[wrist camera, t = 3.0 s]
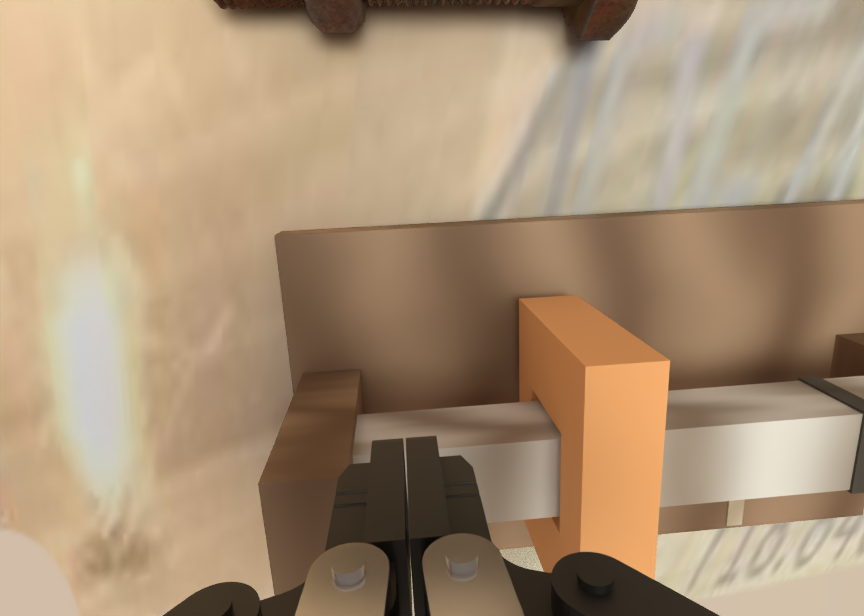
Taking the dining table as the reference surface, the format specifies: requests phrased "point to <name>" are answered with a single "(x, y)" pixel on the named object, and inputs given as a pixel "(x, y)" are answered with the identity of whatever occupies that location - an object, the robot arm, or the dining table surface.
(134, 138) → the dining table surface
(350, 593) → the robot arm
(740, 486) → the pipe stand
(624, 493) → the collar
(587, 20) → the bolt
